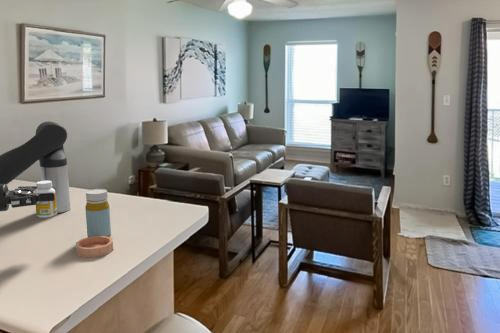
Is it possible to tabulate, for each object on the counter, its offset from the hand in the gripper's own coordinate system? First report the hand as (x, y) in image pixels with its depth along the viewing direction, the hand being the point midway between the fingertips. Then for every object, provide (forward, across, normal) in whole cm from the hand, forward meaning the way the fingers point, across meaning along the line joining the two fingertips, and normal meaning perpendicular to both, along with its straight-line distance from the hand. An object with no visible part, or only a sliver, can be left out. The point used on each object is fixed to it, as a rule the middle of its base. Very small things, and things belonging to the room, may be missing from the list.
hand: (54, 193), depth 124 cm
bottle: (+11, -6, -17) cm, 21 cm away
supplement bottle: (-3, 0, -6) cm, 7 cm away
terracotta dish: (+10, +5, -17) cm, 20 cm away
